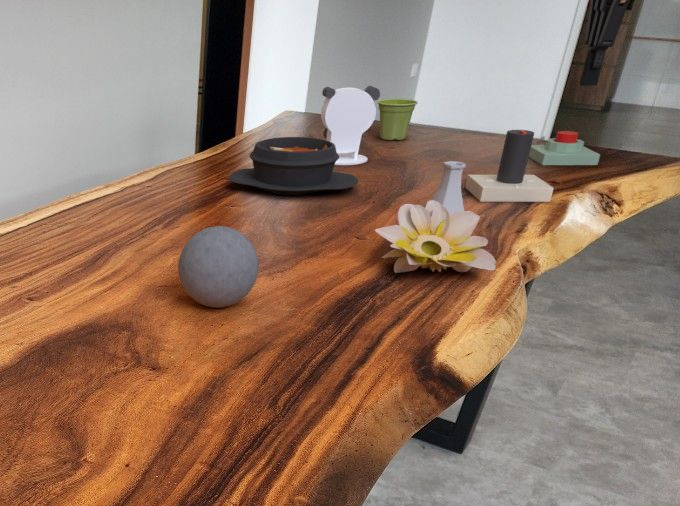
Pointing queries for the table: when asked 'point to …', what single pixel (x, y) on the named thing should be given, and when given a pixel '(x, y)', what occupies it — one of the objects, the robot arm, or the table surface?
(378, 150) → the table surface
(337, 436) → the table surface
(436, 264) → the decorative flower
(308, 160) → the casserole
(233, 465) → the table surface
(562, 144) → the button housing
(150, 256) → the table surface
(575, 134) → the push knob
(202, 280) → the decorative ball
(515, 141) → the dial
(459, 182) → the flask
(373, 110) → the panda figurine
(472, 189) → the dial panel
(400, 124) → the plant pot
